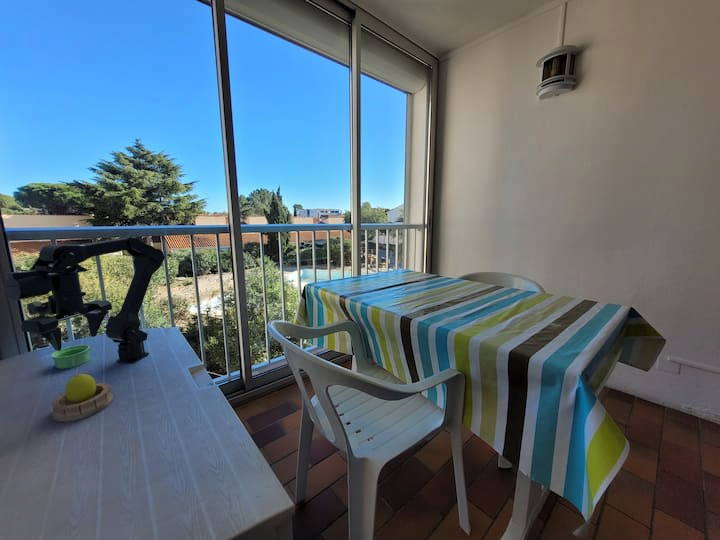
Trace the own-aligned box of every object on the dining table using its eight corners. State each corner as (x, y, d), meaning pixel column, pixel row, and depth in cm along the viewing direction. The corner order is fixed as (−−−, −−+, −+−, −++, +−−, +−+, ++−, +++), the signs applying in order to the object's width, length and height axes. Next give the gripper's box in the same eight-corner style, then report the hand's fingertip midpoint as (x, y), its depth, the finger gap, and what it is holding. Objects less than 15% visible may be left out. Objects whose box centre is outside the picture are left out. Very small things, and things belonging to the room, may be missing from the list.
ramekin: (45, 371, 89) (42, 358, 88) (67, 357, 97) (64, 346, 97) (80, 368, 91) (77, 355, 90) (98, 355, 99) (96, 343, 99)
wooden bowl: (88, 391, 79) (86, 380, 78) (124, 394, 77) (122, 383, 77) (38, 420, 68) (35, 407, 67) (80, 424, 66) (77, 411, 66)
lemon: (103, 399, 74) (97, 371, 72) (75, 412, 69) (68, 382, 67) (91, 394, 76) (86, 366, 74) (64, 406, 71) (57, 377, 70)
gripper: (77, 281, 88) (86, 329, 91) (-5, 298, 70) (10, 357, 73) (109, 282, 87) (117, 330, 90) (34, 300, 69) (47, 360, 72)
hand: (77, 343), depth 81 cm, fingers open, 9 cm apart
